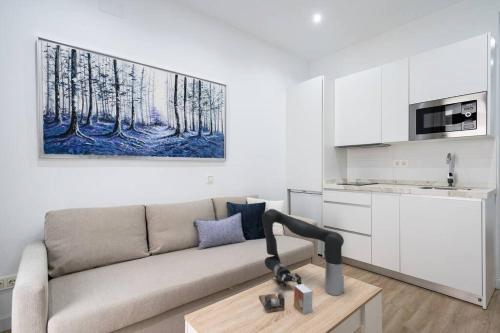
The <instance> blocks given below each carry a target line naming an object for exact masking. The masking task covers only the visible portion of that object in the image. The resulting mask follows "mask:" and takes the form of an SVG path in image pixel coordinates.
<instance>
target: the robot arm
mask: <svg viewBox="0 0 500 333" xmlns="http://www.w3.org/2000/svg"><path fill="white" fill-rule="evenodd" d="M261 221H262V226H263V230H264V235H265V242H266V244H265V245H266V253H267V254H268V255H270V256H267V257H265V259H264V265H265V267H266V268H267V269H269V270H270V271H272V272H273V273H274V274H275V276H274V281H275V282H276V284H277V285H281V286H283V287H284V288H287V286H288V284H287V283H288V282H289V283H296V285H300V284H302V277H301V276H300V275H299V274H298V273H294V274H291V271H290V270H289V269H288V268H287V267H286V266H285V265H284V264H283V263H282V261H281V258H280V256H279V253H278V244H277V242H278V241H277V238H276V236H275V233H274V231H273V230H274V224H275V223H277V224H280V225H283V226H285V228H287V229H288V231H290V232H291V233H292V234H294V235H296V236H299V237H302V238H305V239H313V240H319V241H321V242H323V243H324V245H323V246H324V247H323V248H324V257H325V259H324V260H325V261H324V262H325V263H324V264H325V270H324V272H325V275H324V276H325V278H324V281H325V282H324V283H325V284H324V292H326V293H327V294H329V295H331V296H341V295H342V294H344V291H345V289H344V288H345V287H344V286H345V284H344V283H345V282H344V281H345V280H344V279H345V277H344V275H343V257H342V246H343V245H344V244H345V243H344V242H345V239H344V237H343V236H342V235H341V234H340V233H339V232H336V231H332V230H329V229H325V228H321V227H319V226H316V225H314V224H311V223H309V222H306V221H305V220H301V219H299V218H295V217H293V216H290V215H287V214H285V213H283V212H281V211H279V210H276V209H274V208H270V209H268V210H266V211H264V212H263V213H262V214H261Z"/></svg>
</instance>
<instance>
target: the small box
mask: <svg viewBox="0 0 500 333" xmlns="http://www.w3.org/2000/svg"><path fill="white" fill-rule="evenodd" d="M293 291H294V295H293V296H294V297H293V306H294V307H295V308H296V309H297V310H298V311H299V312H300V313H301V314H302V315H306V314H309V313H312V312H313V295H314V294H313V290H311V289H310V288H309V287H308V286H306V285H305V284H304V283H301V284H300V285H298V284H296V285H294V290H293Z"/></svg>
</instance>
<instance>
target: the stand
mask: <svg viewBox="0 0 500 333" xmlns="http://www.w3.org/2000/svg"><path fill="white" fill-rule="evenodd" d="M285 298H286V297H285V296H284V295H283V294H282V293H279V294H277V295H276V294H275V293H268V294H261V295H260V294H259V296H258V299H259V301H260V302H261V304H262V305H263V308H264V309H265V311H266V313H267V314H271V313H277V312H283V311H285V309H286V308H285V305H286V304H285V302H286V300H285Z"/></svg>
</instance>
